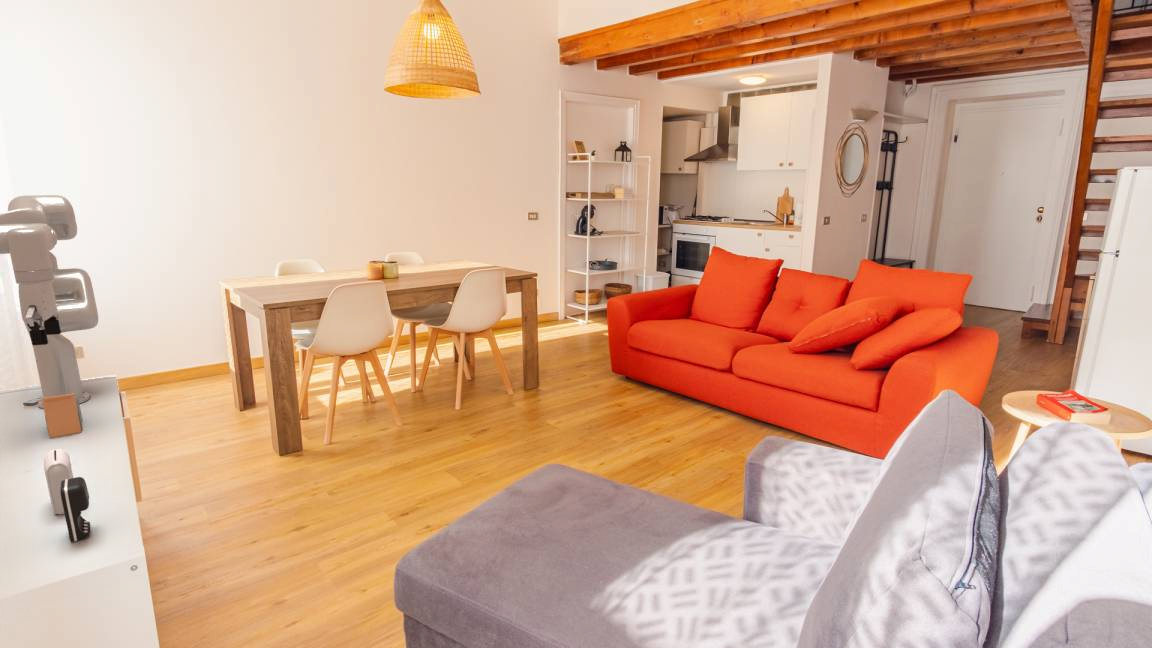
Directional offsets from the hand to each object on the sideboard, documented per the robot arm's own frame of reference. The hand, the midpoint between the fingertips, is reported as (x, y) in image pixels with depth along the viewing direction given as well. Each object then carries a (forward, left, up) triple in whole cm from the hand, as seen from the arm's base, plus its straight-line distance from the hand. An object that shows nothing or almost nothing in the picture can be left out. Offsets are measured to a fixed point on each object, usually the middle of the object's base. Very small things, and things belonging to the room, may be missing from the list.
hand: (47, 339), depth 165 cm
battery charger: (+63, +4, -27) cm, 68 cm away
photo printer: (+47, +1, -27) cm, 54 cm away
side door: (+5, 0, -26) cm, 26 cm away
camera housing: (-1, 0, -27) cm, 27 cm away
